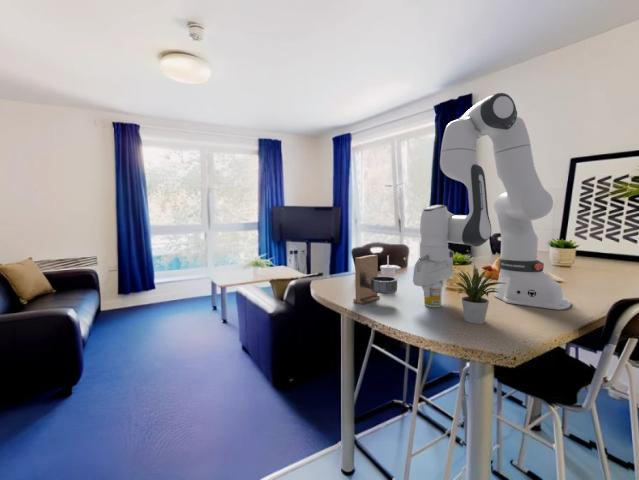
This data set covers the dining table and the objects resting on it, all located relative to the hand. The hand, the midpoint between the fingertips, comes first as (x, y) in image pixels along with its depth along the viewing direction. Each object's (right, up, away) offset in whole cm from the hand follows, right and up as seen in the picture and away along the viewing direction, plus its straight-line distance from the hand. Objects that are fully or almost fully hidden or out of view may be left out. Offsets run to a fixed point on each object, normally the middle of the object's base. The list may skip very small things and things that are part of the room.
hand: (432, 294), depth 108 cm
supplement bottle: (0, -4, 0) cm, 4 cm away
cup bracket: (-18, -4, +4) cm, 19 cm away
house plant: (+6, -5, -16) cm, 18 cm away
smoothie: (-11, -2, +22) cm, 24 cm away
